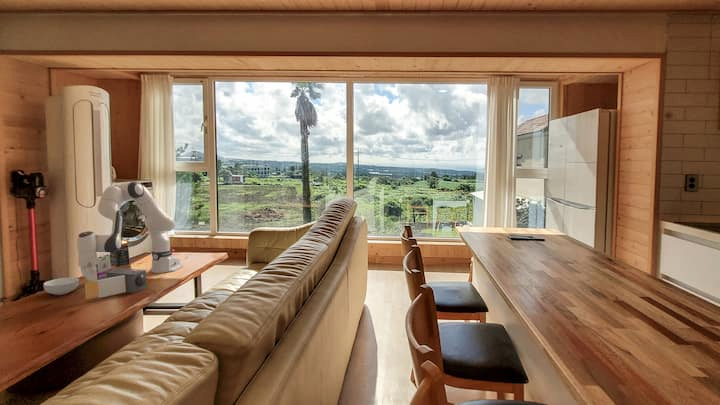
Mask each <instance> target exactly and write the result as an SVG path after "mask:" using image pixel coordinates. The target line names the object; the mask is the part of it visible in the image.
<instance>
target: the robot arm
mask: <svg viewBox="0 0 720 405" xmlns="http://www.w3.org/2000/svg"><path fill="white" fill-rule="evenodd" d="M131 200H133V202H134V203H135V205H136V206H137V207H138V209H139V211H140V213H141V214H143V215H144V216H145V220H144V225H145V227H146V228H147V231H148V233H149V236H150V239H151V248H152V251H151V257H152V258H151V267H150V272H151V273H154V274H164V273H168V272H169V273H171V272H173V273H174V272H176V271H177V270H179V269H181V268H183V267H184V266H185V265H184V264H182V263H181V260H180V258H179V257H177V256H175V254H173V253H175V251H176V250H175V249H171V243H170V239H171V238H170V237H169V236H168V235H167V233H169V232H171V231H173V230H174V229H175V227H176V221H175V219H174V218H172V217H171V216H170V215H168V213H167V212H166V211H165V210H163V209H162V207H161V206H160V205H159V204H158V202H157V200H156V199H155V197H153V195H152V193H151V192H150V190H148V188H147V187H146V186H144V185H143V184H141V183H140V182H137V181H130V182H123V183H120V184H118V185H117V184H116V185H110V186H108V187H106V188H105V189H104V191H103V193H102V194H101V197H100V199H99V201H98V205H97V211H98V213H99V214H100V215H101V216H102V217H104V218H106V219H108V220H111V221H112V226H111V233H110V234H108V235H107V234H106V235H101V234H95V233H94V231H84V232H80V233H79V234H78V235H77V240H76V249H77V254H78V255H77V261H78V262H77V263H78V267H80V272H81V275H82V276H83V277H84V279H86V282H92V281H96V280H97V276H96V269H95V265H96V264H97V263H98V262H97V256H98V253H107V254H110V253H115V252H117V251H118V250H119V249H120V248H121V246H122V239H123V238H122V239H121V236H122V237H123V224H124V213H123V212H122V210H121V205H122V202H127V201H131Z"/></svg>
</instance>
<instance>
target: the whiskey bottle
mask: <svg viewBox="0 0 720 405" xmlns="http://www.w3.org/2000/svg"><path fill="white" fill-rule="evenodd" d="M121 239H122V246H121V248H120V249H119V250H118V251H117V252H115V253H109V254H110V258H111V269H112V270H114V269H117V268H128V269H132V266H131V265H132V264H130V262H131V261H130V252H129V245H130V242H128V241H127V240H125V239H123V235H122V236H121Z"/></svg>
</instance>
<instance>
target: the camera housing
mask: <svg viewBox="0 0 720 405" xmlns="http://www.w3.org/2000/svg"><path fill="white" fill-rule="evenodd" d="M105 274H107V278H112V277H117V276H122V275H125V287H126V292H125V293H129V294H135V293H138V292H140V291H142V290H145V289H147V288H148V286H147V283H148V282H147V270H146V269H136V268H131V269H128V268H117V269H114V270H110V271H107V272H105Z"/></svg>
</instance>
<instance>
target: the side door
mask: <svg viewBox="0 0 720 405" xmlns="http://www.w3.org/2000/svg"><path fill="white" fill-rule="evenodd" d="M84 292H85V294H84V296H85V299H86V300H89V299H93V298H99V299H100V298H104V297H105V298H106V297H110V296H114V295H118V294H119V295H120V294H123V293H127V292H126V287H125V275H122V276H117V277H112V278H107V279H101V280H96V281H92V282H87V281H86V282H84Z"/></svg>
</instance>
